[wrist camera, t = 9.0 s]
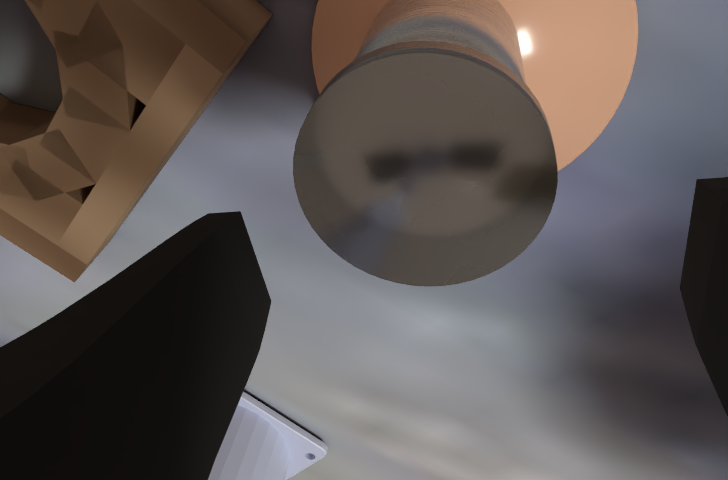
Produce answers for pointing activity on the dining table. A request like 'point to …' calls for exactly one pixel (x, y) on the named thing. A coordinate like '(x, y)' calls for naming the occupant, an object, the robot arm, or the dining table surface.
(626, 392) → the dining table surface
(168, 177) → the dining table surface
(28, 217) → the housing
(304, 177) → the end cover
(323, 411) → the dining table surface
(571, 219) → the dining table surface
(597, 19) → the dish
